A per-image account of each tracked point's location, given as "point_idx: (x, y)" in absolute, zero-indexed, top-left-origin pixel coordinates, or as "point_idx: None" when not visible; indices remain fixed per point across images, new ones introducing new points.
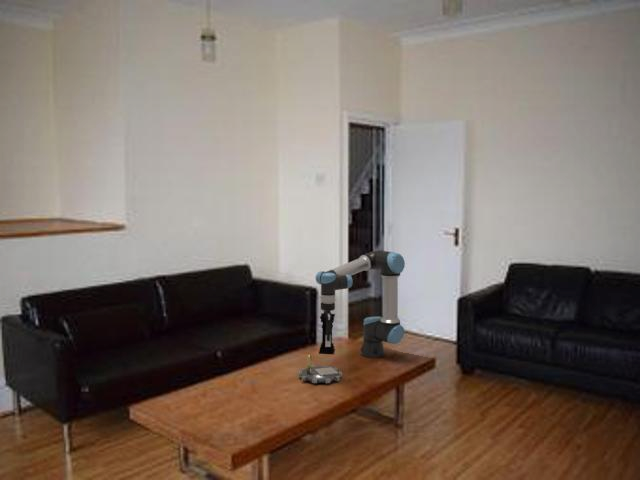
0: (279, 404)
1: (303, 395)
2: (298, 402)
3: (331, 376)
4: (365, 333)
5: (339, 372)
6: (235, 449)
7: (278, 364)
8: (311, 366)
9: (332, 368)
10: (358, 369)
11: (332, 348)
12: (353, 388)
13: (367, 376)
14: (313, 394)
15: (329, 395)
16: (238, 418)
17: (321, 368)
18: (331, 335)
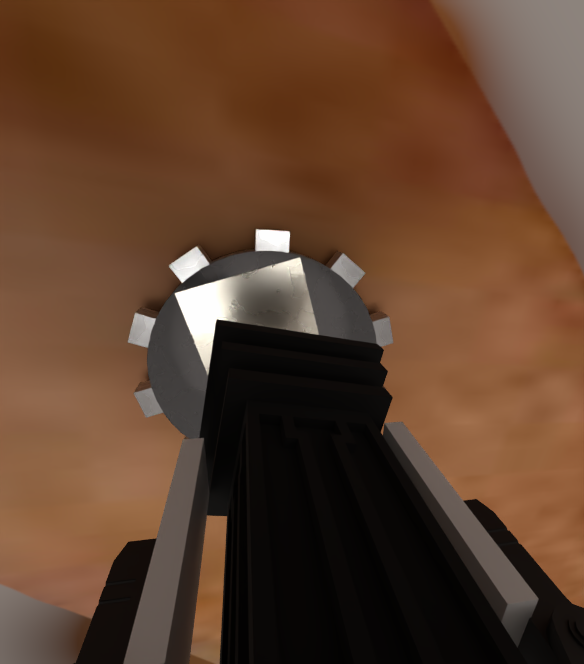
0: (522, 495)
1: (469, 426)
2: (528, 440)
3: (345, 307)
4: None
5: (272, 246)
6: None
7: (46, 545)
8: (151, 413)
9: (205, 289)
10: (67, 48)
11: (336, 376)
12: (446, 181)
13: (241, 9)
14: (470, 389)
15: (500, 323)
16: (574, 573)
17: (205, 360)
18: (385, 537)
